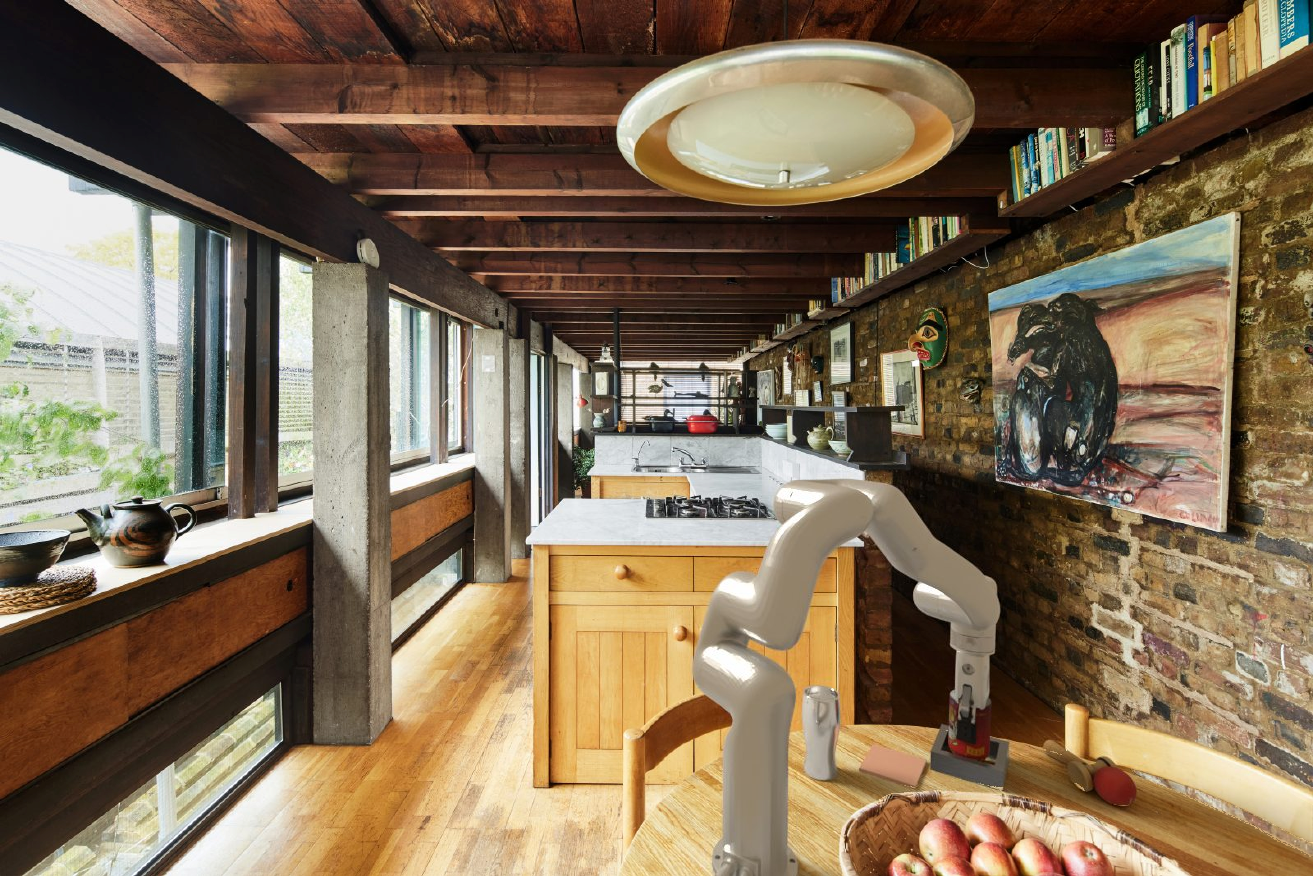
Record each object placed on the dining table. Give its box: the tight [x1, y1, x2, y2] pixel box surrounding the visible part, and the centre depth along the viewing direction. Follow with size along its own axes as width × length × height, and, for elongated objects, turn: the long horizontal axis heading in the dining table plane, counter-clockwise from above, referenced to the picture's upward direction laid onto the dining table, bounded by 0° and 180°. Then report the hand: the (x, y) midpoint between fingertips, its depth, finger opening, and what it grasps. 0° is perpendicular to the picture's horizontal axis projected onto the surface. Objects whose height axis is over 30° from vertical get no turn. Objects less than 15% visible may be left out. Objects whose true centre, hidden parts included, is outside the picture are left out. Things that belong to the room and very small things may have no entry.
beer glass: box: [801, 684, 841, 782], centre depth 115 cm, size 7×7×15 cm
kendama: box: [1042, 739, 1138, 807], centre depth 112 cm, size 8×6×18 cm
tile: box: [858, 743, 928, 787], centre depth 117 cm, size 10×10×1 cm
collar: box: [929, 723, 1010, 788], centre depth 117 cm, size 12×12×4 cm
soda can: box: [948, 689, 993, 763], centre depth 117 cm, size 7×7×12 cm
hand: (969, 732), depth 117 cm, fingers closed on soda can, 7 cm apart
